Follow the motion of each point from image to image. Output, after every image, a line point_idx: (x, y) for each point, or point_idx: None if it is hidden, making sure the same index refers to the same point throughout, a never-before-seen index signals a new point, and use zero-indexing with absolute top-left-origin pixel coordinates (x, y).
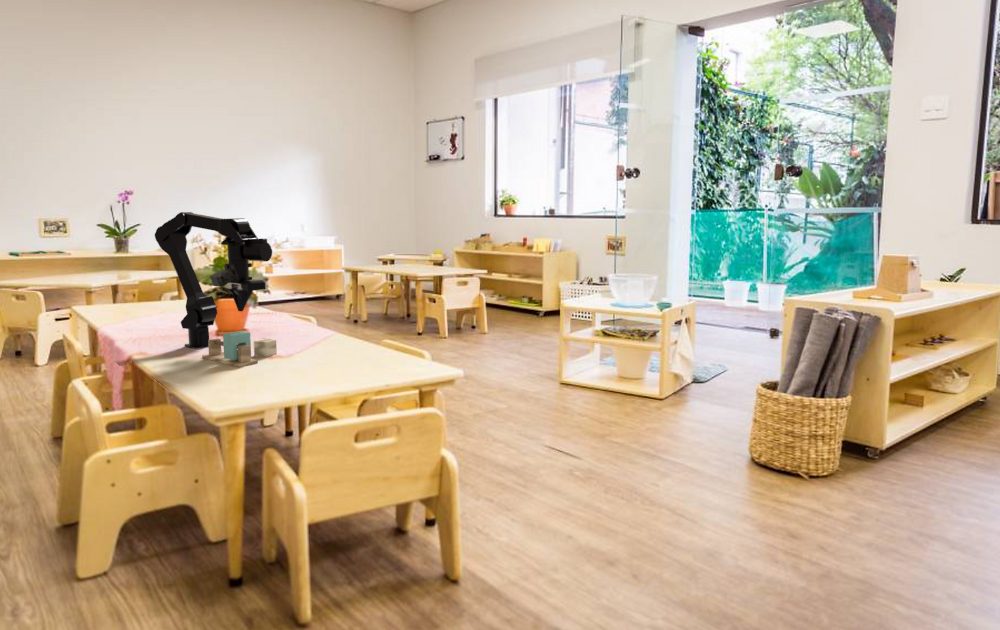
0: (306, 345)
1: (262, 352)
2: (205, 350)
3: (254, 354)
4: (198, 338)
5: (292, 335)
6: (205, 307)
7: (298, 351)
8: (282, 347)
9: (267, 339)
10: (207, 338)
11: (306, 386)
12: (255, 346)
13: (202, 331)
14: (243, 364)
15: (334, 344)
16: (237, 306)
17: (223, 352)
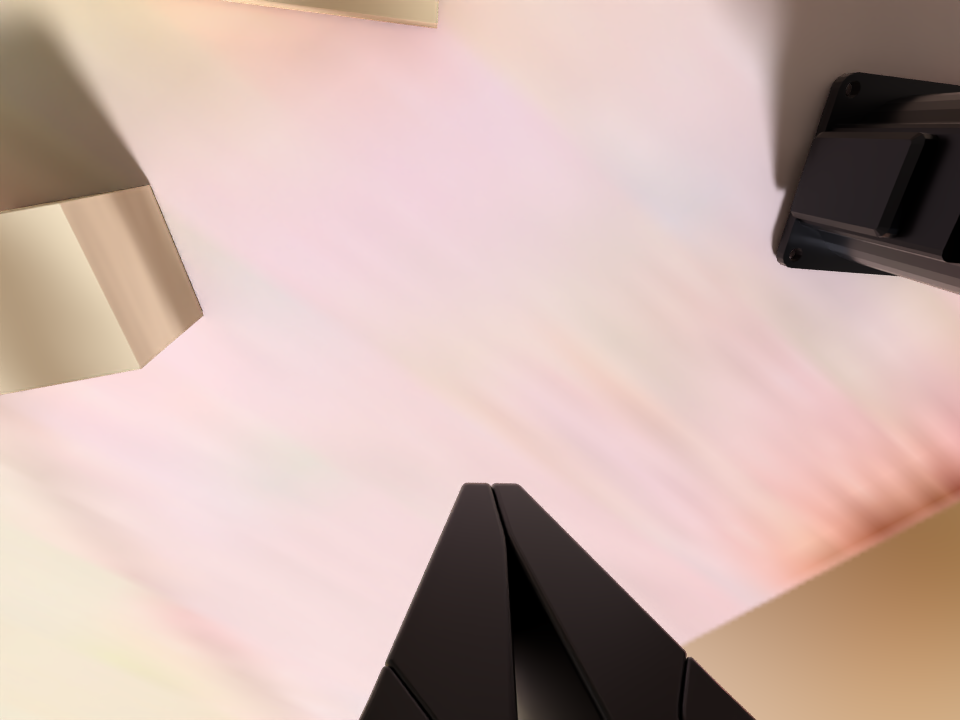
0: (231, 615)
1: (26, 207)
2: (715, 91)
3: (141, 186)
4: (905, 124)
5: None
6: None
7: (78, 491)
8: (296, 504)
9: (48, 352)
10: (837, 202)
11: None
12: (76, 199)
13: (938, 169)
14: None
15: (129, 709)
16: (535, 538)
17: (382, 9)
